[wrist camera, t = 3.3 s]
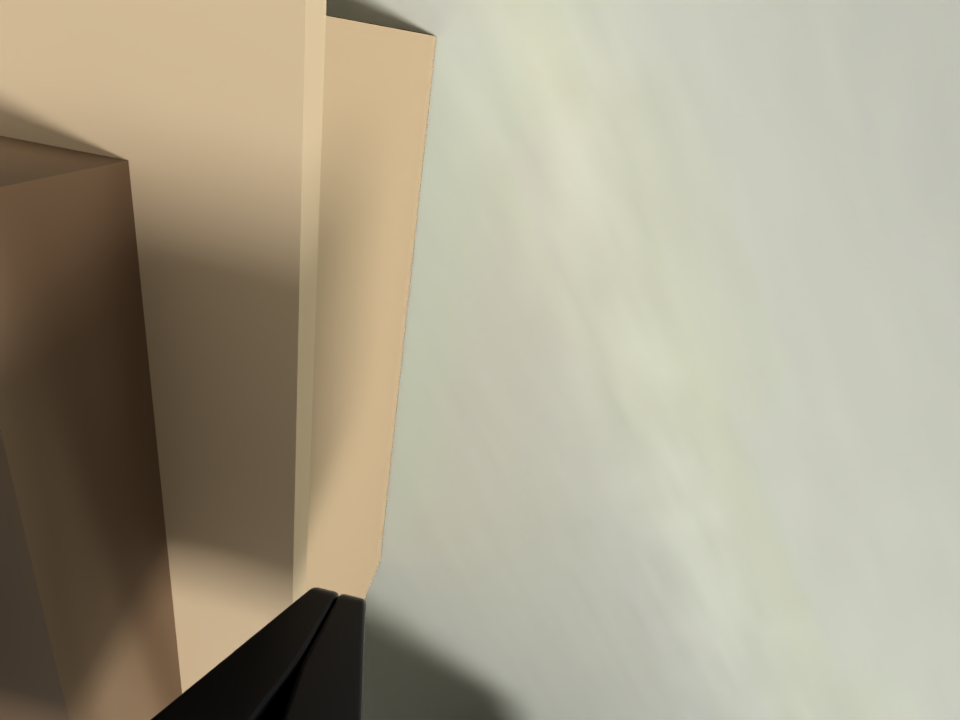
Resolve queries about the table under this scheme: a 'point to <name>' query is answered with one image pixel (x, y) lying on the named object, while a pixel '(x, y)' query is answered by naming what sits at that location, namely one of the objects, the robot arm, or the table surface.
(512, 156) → the table surface
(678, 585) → the table surface
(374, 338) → the mailer box
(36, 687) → the mailer lid
